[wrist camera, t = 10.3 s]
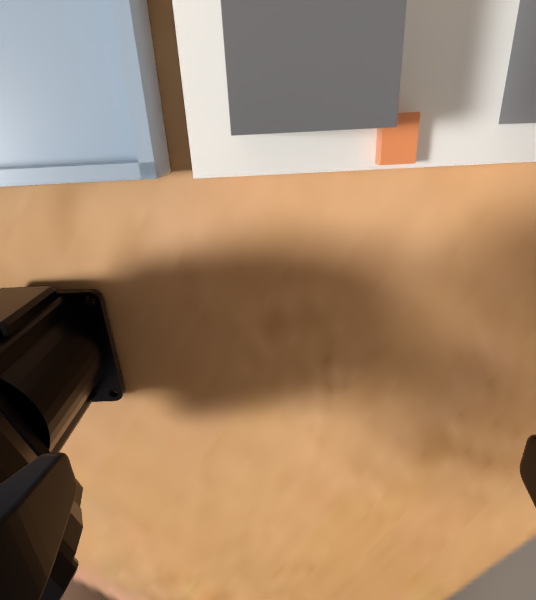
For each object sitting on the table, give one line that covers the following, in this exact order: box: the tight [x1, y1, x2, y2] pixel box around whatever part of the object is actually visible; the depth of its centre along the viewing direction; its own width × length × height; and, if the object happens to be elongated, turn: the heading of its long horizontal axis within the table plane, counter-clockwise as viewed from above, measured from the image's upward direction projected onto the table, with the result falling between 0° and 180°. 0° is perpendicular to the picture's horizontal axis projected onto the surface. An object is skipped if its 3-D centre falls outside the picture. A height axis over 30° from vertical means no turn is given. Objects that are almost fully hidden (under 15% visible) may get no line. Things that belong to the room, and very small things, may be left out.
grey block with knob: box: [221, 0, 407, 136], centre depth 12 cm, size 6×4×6 cm
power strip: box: [172, 0, 536, 179], centre depth 12 cm, size 9×16×6 cm, turn 93°
